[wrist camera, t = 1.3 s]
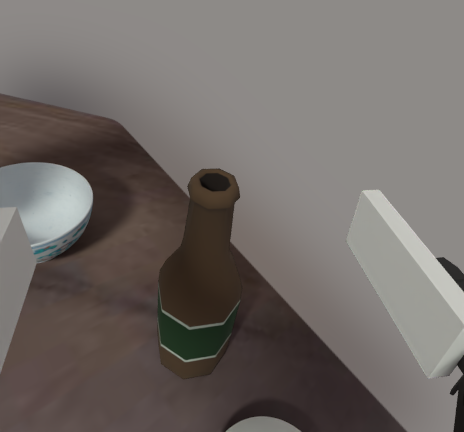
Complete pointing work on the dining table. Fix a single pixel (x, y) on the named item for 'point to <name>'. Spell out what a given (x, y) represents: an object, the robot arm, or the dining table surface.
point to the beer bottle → (200, 281)
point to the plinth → (262, 425)
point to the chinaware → (47, 204)
